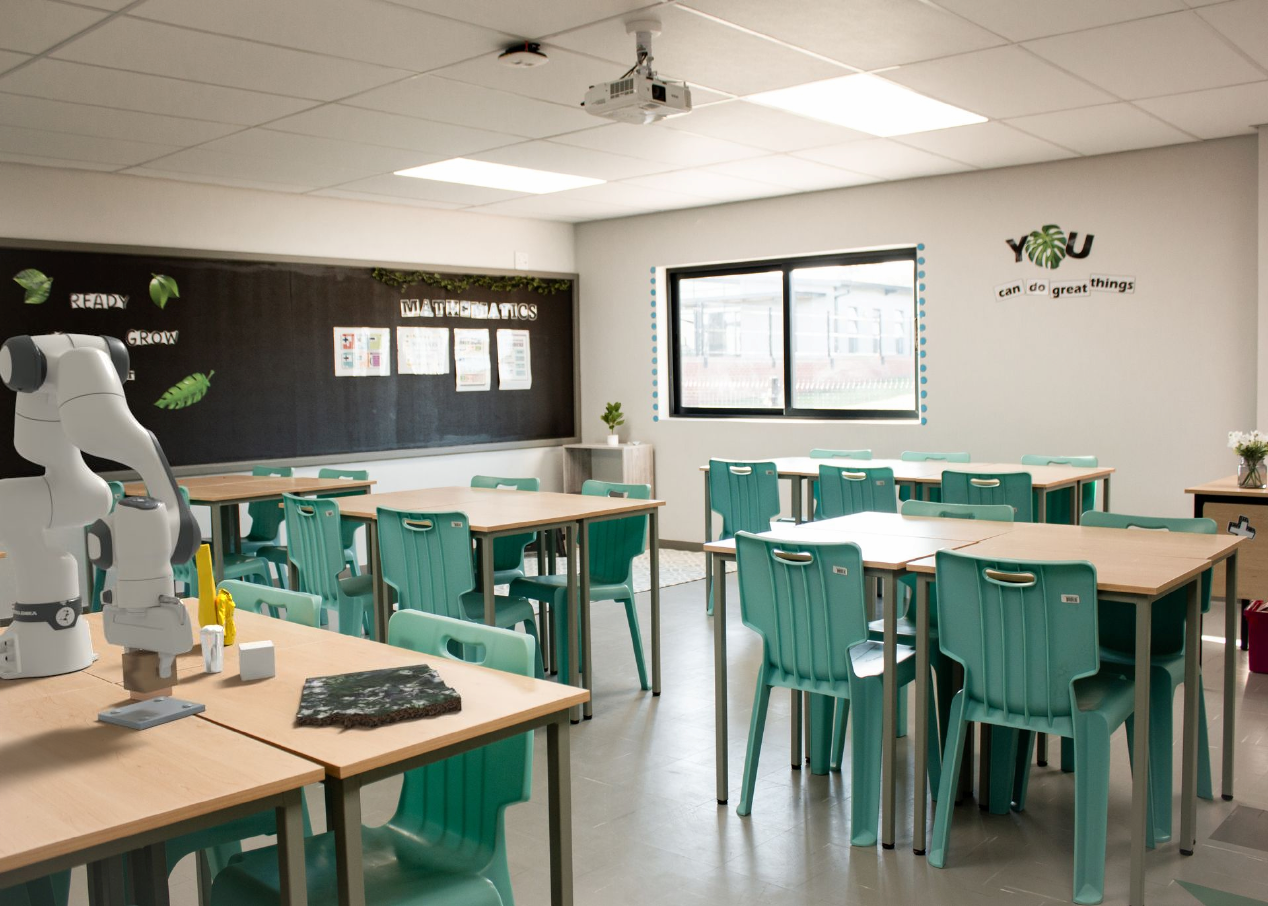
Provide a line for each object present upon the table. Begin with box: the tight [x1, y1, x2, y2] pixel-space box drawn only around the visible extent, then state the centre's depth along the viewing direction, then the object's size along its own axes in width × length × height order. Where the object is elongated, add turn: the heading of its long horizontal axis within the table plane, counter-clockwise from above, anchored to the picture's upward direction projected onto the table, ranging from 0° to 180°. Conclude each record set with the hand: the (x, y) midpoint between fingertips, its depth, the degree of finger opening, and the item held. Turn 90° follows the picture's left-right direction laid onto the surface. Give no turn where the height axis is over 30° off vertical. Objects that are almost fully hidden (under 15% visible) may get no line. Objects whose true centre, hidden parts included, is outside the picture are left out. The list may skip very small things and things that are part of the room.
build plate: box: [97, 696, 206, 731], centre depth 181 cm, size 12×12×1 cm
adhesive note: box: [237, 639, 276, 682], centre depth 206 cm, size 6×6×6 cm
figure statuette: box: [194, 543, 237, 646], centre depth 234 cm, size 18×8×22 cm, turn 17°
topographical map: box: [296, 663, 463, 730], centre depth 187 cm, size 26×33×3 cm
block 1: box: [121, 649, 178, 694], centre depth 180 cm, size 6×6×6 cm
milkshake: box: [198, 621, 226, 674], centre depth 210 cm, size 4×5×10 cm
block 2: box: [129, 686, 173, 702], centre depth 193 cm, size 5×5×5 cm
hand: (150, 674), depth 181 cm, fingers closed on block 1, 6 cm apart
